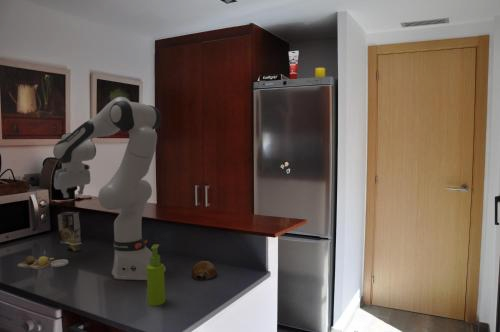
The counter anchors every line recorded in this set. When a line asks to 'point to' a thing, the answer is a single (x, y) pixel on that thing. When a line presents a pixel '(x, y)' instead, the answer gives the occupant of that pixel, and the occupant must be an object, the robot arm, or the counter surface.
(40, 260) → the mustard ball
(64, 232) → the coffee box
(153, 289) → the soap dispenser
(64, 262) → the white bowl
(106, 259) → the counter surface
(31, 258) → the walnut ball
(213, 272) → the bread roll
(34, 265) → the twin rack
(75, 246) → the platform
